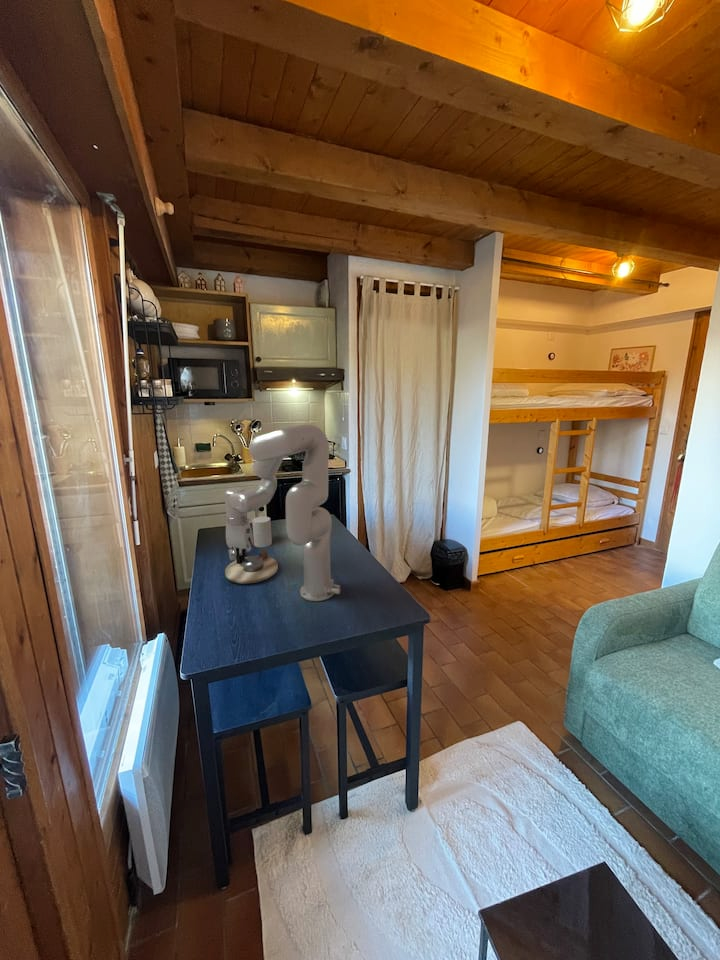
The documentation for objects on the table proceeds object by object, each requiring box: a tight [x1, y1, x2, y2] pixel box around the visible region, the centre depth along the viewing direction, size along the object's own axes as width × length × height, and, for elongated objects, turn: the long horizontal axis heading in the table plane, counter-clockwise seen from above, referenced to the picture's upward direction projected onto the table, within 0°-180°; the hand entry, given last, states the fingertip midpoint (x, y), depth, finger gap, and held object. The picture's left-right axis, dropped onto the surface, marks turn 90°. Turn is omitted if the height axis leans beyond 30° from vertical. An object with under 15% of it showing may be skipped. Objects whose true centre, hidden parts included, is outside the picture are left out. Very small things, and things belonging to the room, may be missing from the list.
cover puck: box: [242, 555, 264, 572], centre depth 149 cm, size 8×8×3 cm
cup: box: [251, 515, 273, 548], centre depth 176 cm, size 8×8×12 cm
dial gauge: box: [228, 548, 236, 562], centre depth 164 cm, size 6×5×4 cm
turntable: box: [224, 549, 279, 584], centre depth 150 cm, size 20×20×4 cm
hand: (241, 562), depth 152 cm, fingers closed
